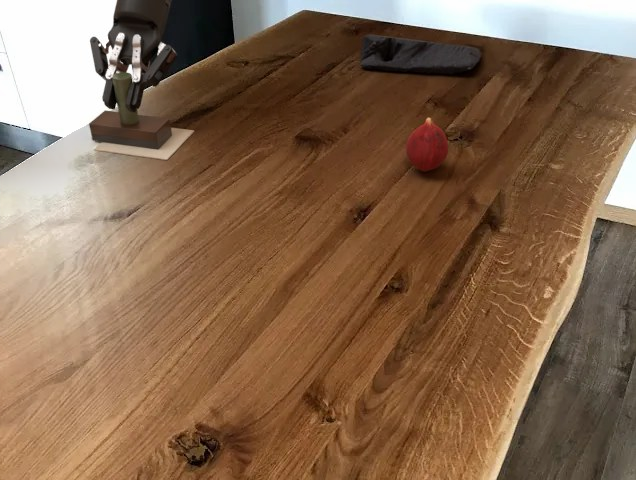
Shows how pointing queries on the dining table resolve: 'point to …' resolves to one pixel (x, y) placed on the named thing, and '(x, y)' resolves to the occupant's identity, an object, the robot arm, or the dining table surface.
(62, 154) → the dining table surface
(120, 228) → the dining table surface
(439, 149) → the onion
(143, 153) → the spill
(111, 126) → the stamp with green handle
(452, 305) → the dining table surface
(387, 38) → the dark slate chunk
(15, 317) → the dining table surface
